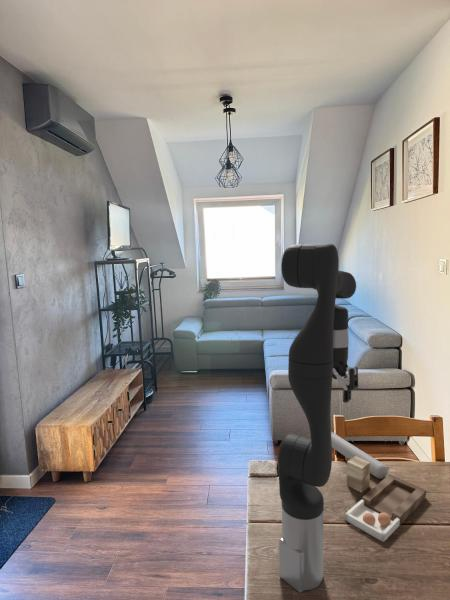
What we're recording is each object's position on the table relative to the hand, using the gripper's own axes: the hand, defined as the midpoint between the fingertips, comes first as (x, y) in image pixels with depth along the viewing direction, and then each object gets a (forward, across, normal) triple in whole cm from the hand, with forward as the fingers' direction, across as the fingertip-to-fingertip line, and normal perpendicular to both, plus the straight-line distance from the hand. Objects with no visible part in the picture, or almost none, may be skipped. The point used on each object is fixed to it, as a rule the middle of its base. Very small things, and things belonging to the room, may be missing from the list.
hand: (333, 397), depth 116 cm
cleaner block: (+30, +4, +9) cm, 31 cm away
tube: (+30, -4, +20) cm, 36 cm away
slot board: (+30, +15, +10) cm, 35 cm away
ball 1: (+30, +15, -5) cm, 33 cm away
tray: (+30, +15, -3) cm, 34 cm away
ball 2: (+28, +16, -3) cm, 33 cm away
